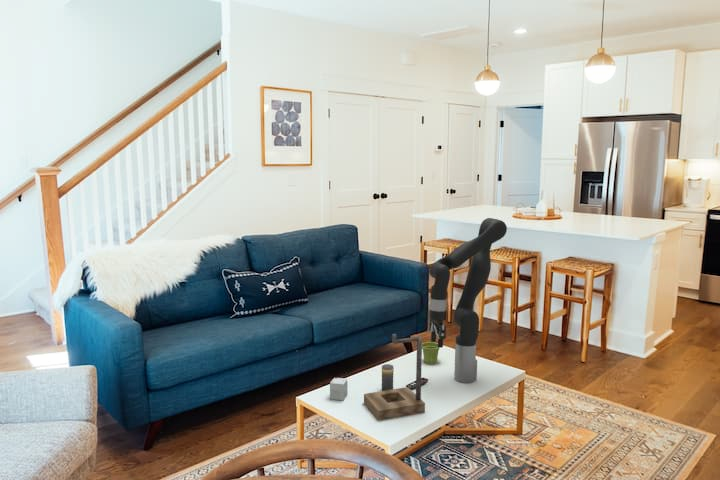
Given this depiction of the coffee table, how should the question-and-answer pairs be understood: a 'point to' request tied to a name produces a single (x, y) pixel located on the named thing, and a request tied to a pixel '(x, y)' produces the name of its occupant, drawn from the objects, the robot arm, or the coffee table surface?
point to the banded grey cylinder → (387, 377)
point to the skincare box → (338, 389)
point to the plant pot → (430, 352)
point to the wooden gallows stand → (398, 393)
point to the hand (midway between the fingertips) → (436, 344)
